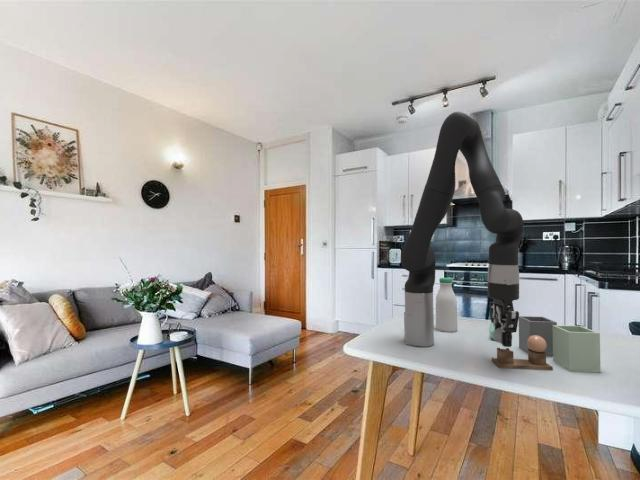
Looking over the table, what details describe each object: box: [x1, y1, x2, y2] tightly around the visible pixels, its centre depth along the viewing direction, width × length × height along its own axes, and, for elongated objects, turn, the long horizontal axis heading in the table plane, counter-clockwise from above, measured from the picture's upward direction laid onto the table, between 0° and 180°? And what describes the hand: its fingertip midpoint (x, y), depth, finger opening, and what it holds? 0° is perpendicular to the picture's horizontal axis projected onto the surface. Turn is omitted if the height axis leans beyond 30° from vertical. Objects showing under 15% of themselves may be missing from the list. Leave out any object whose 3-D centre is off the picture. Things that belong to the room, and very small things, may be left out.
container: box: [489, 315, 497, 342], centre depth 117 cm, size 6×6×25 cm
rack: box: [491, 347, 554, 371], centre depth 85 cm, size 13×5×4 cm, turn 81°
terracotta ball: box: [527, 335, 547, 352], centre depth 85 cm, size 4×4×4 cm
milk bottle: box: [435, 277, 458, 333], centre depth 122 cm, size 8×8×20 cm
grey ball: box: [494, 327, 502, 345], centre depth 86 cm, size 4×4×4 cm
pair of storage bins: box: [518, 315, 602, 373], centre depth 90 cm, size 11×18×10 cm, turn 171°
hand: (502, 343), depth 86 cm, fingers closed on grey ball, 4 cm apart
